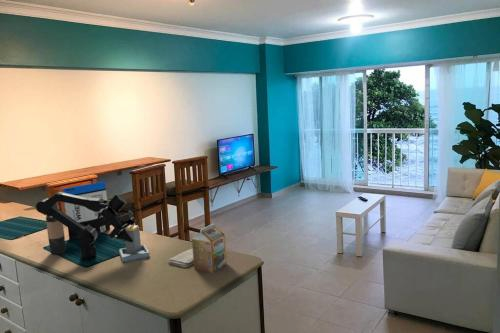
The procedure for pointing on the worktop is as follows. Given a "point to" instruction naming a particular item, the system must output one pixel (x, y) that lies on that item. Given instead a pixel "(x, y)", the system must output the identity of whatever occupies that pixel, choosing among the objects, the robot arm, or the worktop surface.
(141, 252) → the tray
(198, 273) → the worktop surface
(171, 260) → the washcloth
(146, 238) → the worktop surface
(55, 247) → the travel mug
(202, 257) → the milk carton
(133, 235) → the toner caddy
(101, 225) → the protein powder
